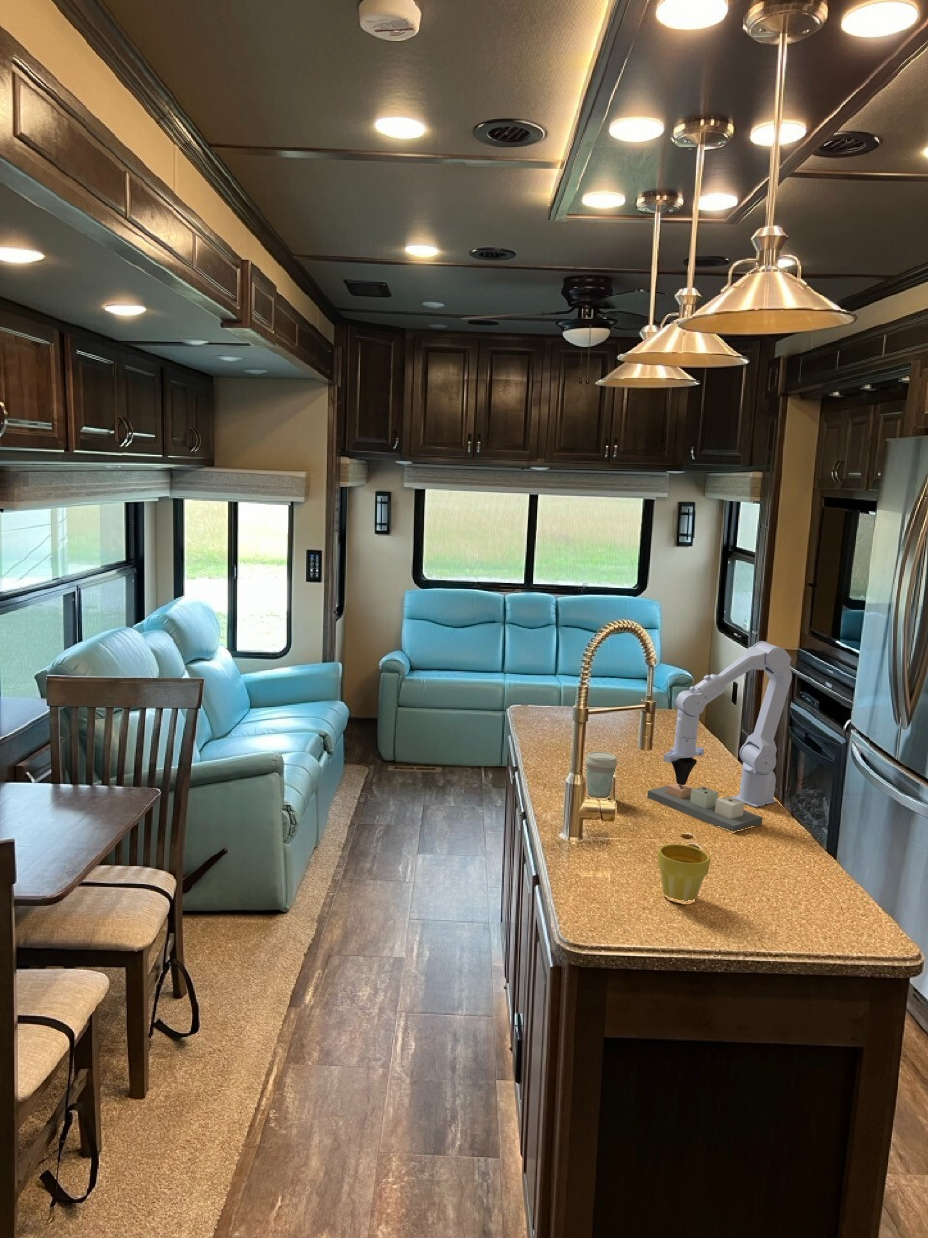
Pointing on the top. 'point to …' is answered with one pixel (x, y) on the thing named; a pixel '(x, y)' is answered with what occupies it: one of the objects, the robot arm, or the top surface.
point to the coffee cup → (600, 773)
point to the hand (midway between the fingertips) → (681, 784)
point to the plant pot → (682, 870)
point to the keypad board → (704, 811)
